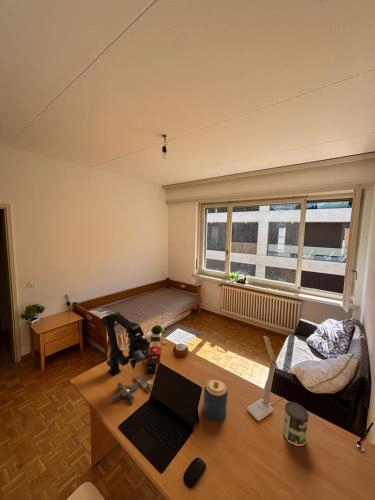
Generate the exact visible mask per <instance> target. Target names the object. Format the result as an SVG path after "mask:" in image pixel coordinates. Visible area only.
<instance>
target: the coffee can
mask: <svg viewBox="0 0 375 500" xmlns="http://www.w3.org/2000/svg"><path fill="white" fill-rule="evenodd" d="M283 415H284V416H283V426H282V431H283V432H282V434H283V433H284V435H285V437H286V438H287V439H288V440H290V441H291V442H294V443H297V444H303V443H304V442H305V443H306V439H307V431H308V423H309V422H308V421H309V417H310V416H309V412H308V411H307V409H306V408H305V407H304V406H303V405H301V404H300V403H298V402H295V401H288V402H286V403H285V405H284V414H283Z"/></svg>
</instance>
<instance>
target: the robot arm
mask: <svg viewBox="0 0 375 500" xmlns="http://www.w3.org/2000/svg"><path fill="white" fill-rule="evenodd" d="M116 323H117V324H118V325H120V326H121V327H122V328H123V329H124V330H125V331H126V333H127V335H126V337H127V338H129V340H128V341H129V343H128V345H127V348H128V352H127V354H128V355H127V356H126V355H125V354H124V351H123V349H120V348H119V343H118V340H117V334H116V330H115V325H116ZM101 324H102V326H103V328H104V329H106V333H107V337H108V342H109V347H110V353H109V359H108V360H107V361H106V365H107V366H109V369H108V370H107V372H108V373H109V374H110V375H111V376H112V377H114V376H115V375H118V374H119V373H121V372H122V370H121V369H120V365H121V366H122V367H124V366H126V365H128V364H130V366H131V368H132V369H133V370H134V369H135V368H136V365H137V364H138V363H140V362H142V361H144V360H145V359H146V355H147V354H148V350H147V349H148V347H149V342H150V341H149V340H148V339H147V338H145V337H144V336H145V334H144V332H143V329H142V327H141V325H140V324H139V323H136V322H131V321H130V320H128V318H126V317H125V316H123V315H122V314H121V313H120V312H119V311H117V312H114V313H110V314H107V315H104V316H102V317H101ZM148 355H149V354H148ZM148 355H147V356H148Z"/></svg>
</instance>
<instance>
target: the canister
mask: <svg viewBox="0 0 375 500" xmlns="http://www.w3.org/2000/svg"><path fill="white" fill-rule="evenodd" d="M228 394H229V392H228V389H227V386H226V384H225V383H224V382H223V381H221V380H218V379H211V380H208V381H207V382H206V383H205V386H204V388H203V402H202V403H203V404H202V410H203V414H204V415H205V416H206V417H207V418H208V419H209V420H211V421H213V422H214V421H215V422H217V421H222V420H223V419H225V417H226V415H227V410H228V409H227V404H228V396H229V395H228Z"/></svg>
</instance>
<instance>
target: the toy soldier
mask: <svg viewBox="0 0 375 500" xmlns="http://www.w3.org/2000/svg"><path fill="white" fill-rule="evenodd" d="M148 342H149V347H148V349H147V350H148V354H147V355H146V357H145V358H144V366H145V369H144V376H145V377H146V378H147V375H157V367H158V366H157V365H160V364H161V353H162V348H161V337H160V336H150V341H148ZM147 358H148V359H147ZM159 363H160V364H159ZM147 368H148V369H147Z"/></svg>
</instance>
